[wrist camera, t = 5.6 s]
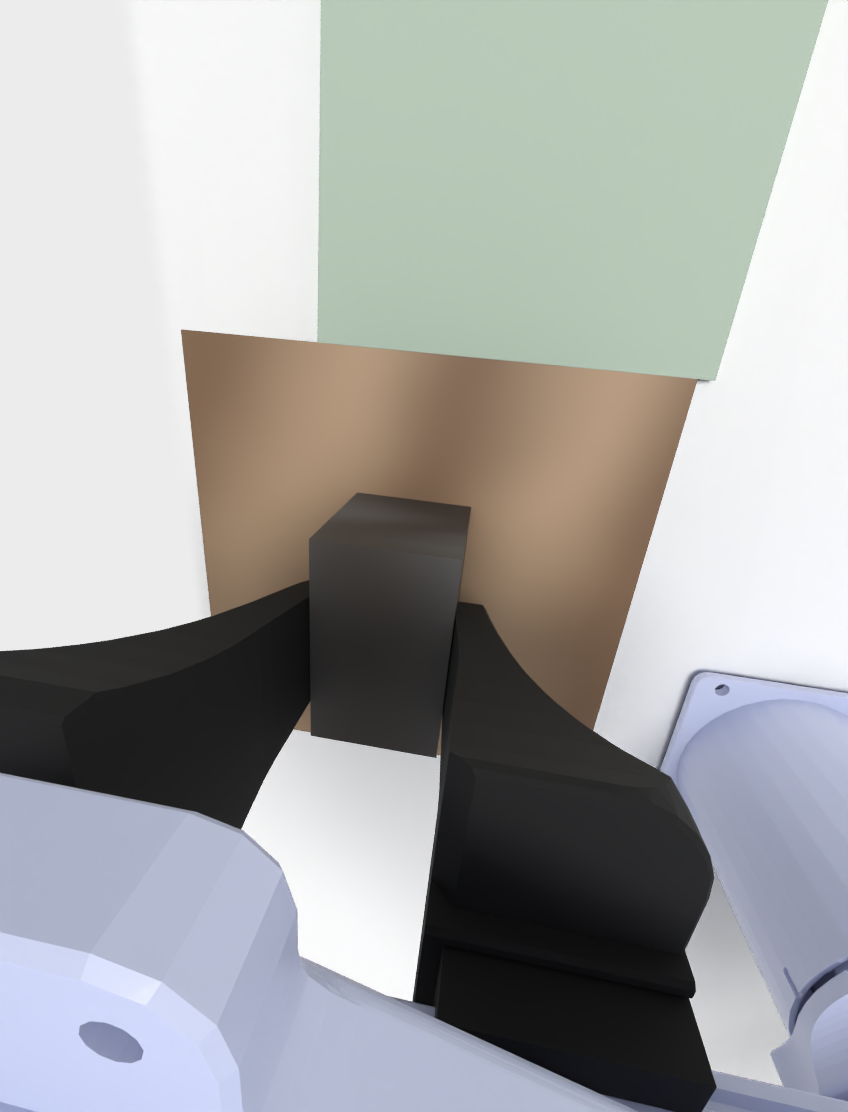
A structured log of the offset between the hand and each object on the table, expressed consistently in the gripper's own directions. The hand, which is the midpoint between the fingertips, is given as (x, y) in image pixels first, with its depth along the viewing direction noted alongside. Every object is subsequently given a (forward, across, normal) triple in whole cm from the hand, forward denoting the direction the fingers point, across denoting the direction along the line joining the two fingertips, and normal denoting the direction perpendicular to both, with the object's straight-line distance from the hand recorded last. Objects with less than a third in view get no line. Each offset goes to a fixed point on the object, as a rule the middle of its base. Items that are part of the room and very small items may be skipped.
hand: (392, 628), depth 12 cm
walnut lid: (+3, 0, 0) cm, 3 cm away
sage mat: (+7, -2, -13) cm, 15 cm away
